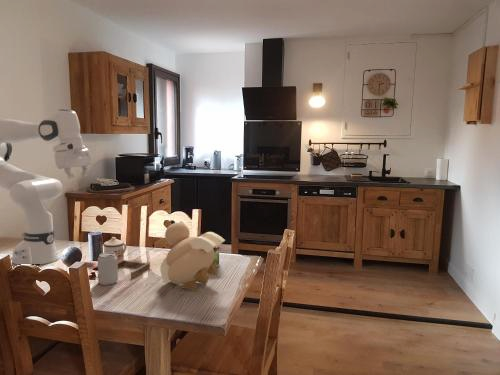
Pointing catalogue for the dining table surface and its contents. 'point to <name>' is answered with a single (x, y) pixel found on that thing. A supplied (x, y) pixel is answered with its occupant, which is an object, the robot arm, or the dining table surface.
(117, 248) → the teacup with lid
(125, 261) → the frame
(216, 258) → the coffee can
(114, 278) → the can
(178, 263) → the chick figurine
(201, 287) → the dining table surface
